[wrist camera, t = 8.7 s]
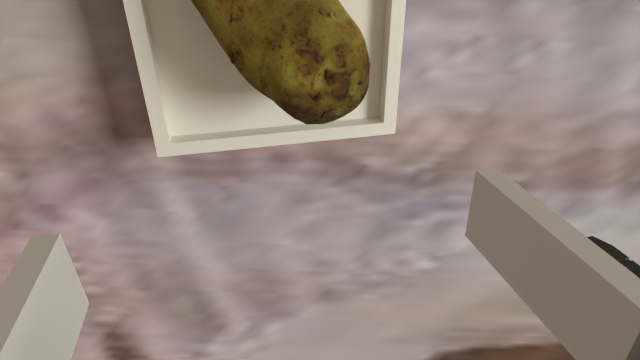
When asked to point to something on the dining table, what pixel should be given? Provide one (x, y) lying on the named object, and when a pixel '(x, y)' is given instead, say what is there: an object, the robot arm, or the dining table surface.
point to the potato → (294, 53)
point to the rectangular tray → (236, 93)
